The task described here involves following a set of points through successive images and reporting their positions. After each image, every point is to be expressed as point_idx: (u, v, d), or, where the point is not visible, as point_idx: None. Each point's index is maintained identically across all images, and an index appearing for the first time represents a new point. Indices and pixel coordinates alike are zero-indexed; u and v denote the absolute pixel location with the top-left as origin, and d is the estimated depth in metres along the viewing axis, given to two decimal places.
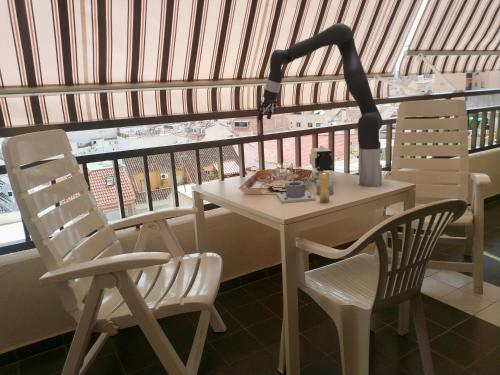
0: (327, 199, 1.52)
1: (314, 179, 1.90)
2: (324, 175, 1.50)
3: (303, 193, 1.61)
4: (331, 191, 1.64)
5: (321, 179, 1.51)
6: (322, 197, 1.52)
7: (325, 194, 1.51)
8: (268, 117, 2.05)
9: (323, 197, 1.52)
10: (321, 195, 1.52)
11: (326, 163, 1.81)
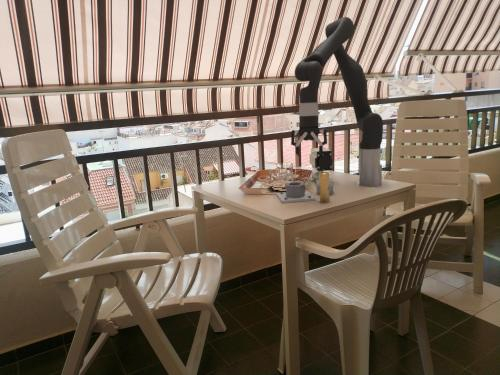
0: (327, 199, 1.52)
1: (314, 179, 1.90)
2: (324, 175, 1.50)
3: (303, 193, 1.61)
4: (331, 191, 1.64)
5: (321, 179, 1.51)
6: (322, 197, 1.52)
7: (325, 194, 1.51)
8: (299, 153, 1.53)
9: (323, 197, 1.52)
10: (321, 195, 1.52)
11: (326, 163, 1.81)
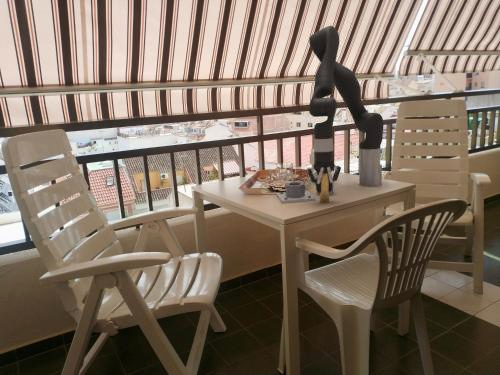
0: (327, 199, 1.52)
1: None
2: (324, 175, 1.50)
3: (303, 193, 1.61)
4: (331, 191, 1.64)
5: (321, 179, 1.51)
6: (322, 197, 1.52)
7: (325, 194, 1.51)
8: None
9: (323, 197, 1.52)
10: (321, 195, 1.52)
11: None
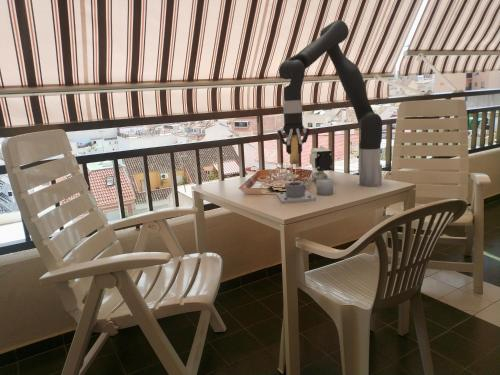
0: (297, 160, 1.57)
1: (314, 179, 1.90)
2: (293, 136, 1.55)
3: (303, 193, 1.61)
4: (331, 191, 1.64)
5: (291, 140, 1.56)
6: (292, 158, 1.57)
7: (294, 155, 1.57)
8: None
9: (292, 158, 1.57)
10: (291, 156, 1.57)
11: (326, 163, 1.81)
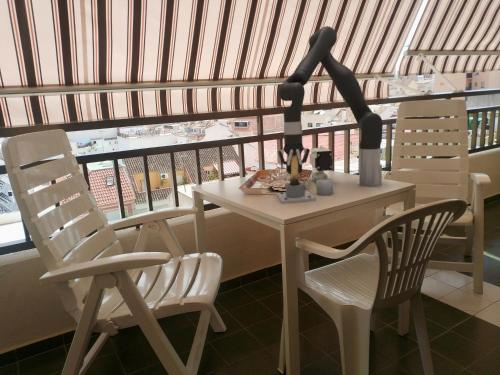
0: (297, 180, 1.60)
1: (314, 179, 1.90)
2: (293, 157, 1.57)
3: (303, 193, 1.61)
4: (331, 191, 1.64)
5: (291, 161, 1.58)
6: (292, 178, 1.60)
7: (294, 175, 1.59)
8: None
9: (293, 178, 1.59)
10: (291, 176, 1.60)
11: (326, 163, 1.81)
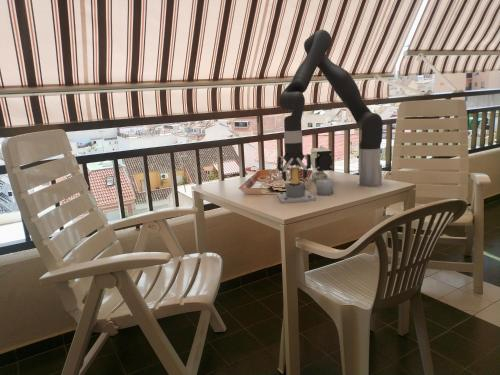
0: None
1: (314, 179, 1.90)
2: (294, 170, 1.58)
3: (303, 193, 1.61)
4: (331, 191, 1.64)
5: (291, 174, 1.59)
6: None
7: None
8: None
9: None
10: None
11: (326, 163, 1.81)
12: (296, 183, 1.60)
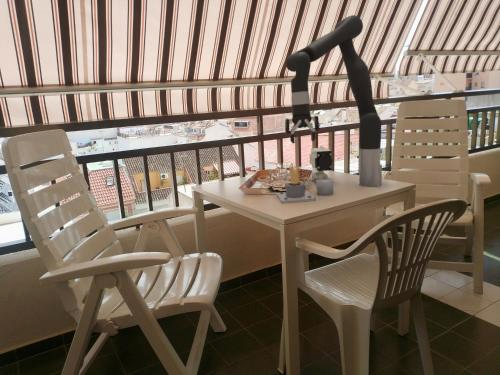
0: None
1: (314, 179, 1.90)
2: (294, 170, 1.58)
3: (303, 193, 1.61)
4: (331, 191, 1.64)
5: (291, 174, 1.59)
6: None
7: None
8: None
9: None
10: None
11: (326, 163, 1.81)
12: (296, 183, 1.60)
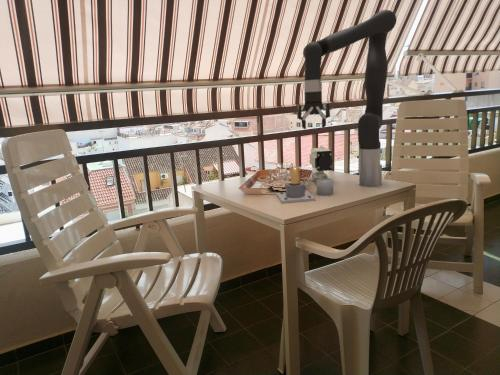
0: None
1: (314, 179, 1.90)
2: (294, 170, 1.58)
3: (303, 193, 1.61)
4: (331, 191, 1.64)
5: (291, 174, 1.59)
6: None
7: None
8: None
9: None
10: None
11: (326, 163, 1.81)
12: (296, 183, 1.60)
